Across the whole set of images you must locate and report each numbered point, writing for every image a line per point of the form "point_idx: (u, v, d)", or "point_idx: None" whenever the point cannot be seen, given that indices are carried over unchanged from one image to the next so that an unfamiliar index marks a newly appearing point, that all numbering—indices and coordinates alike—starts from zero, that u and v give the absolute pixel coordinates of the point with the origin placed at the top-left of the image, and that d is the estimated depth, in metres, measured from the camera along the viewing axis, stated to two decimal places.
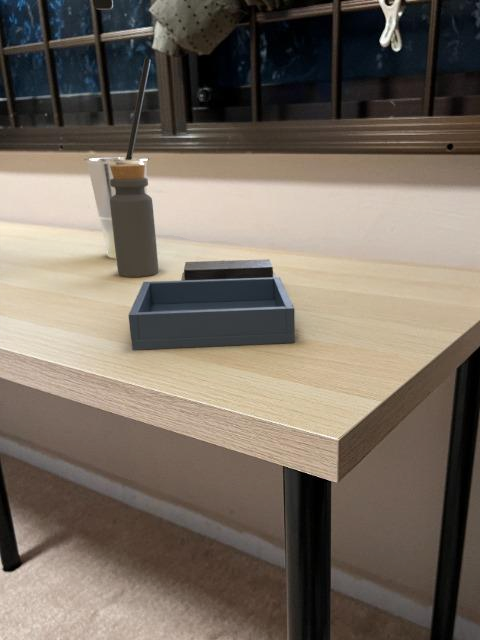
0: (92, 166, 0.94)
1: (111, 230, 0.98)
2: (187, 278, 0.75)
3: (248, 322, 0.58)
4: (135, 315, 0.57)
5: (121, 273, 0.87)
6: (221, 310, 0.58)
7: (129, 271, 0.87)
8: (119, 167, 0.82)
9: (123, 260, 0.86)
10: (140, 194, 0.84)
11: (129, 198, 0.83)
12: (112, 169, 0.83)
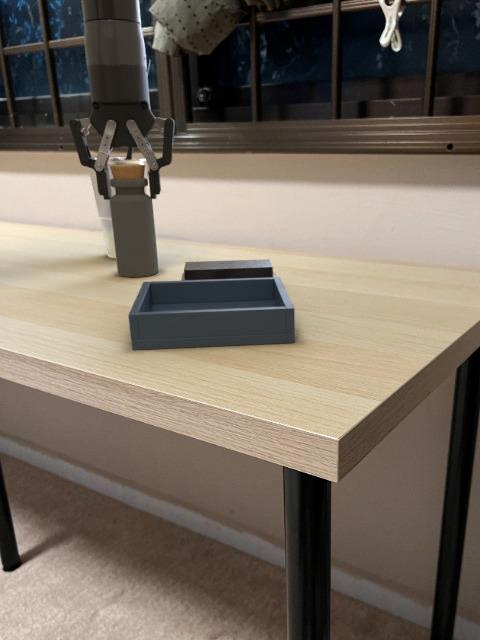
0: None
1: (111, 230, 0.98)
2: (187, 278, 0.75)
3: (248, 322, 0.58)
4: (135, 315, 0.57)
5: (121, 273, 0.87)
6: (221, 310, 0.58)
7: (129, 271, 0.87)
8: (119, 167, 0.82)
9: (123, 260, 0.86)
10: (140, 194, 0.84)
11: (129, 198, 0.83)
12: (112, 169, 0.83)
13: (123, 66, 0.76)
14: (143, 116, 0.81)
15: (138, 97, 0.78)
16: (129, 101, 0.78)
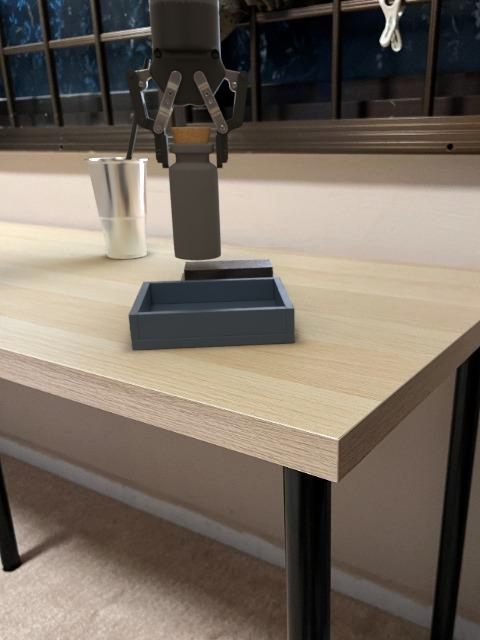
0: (92, 166, 0.94)
1: (111, 230, 0.98)
2: (187, 278, 0.75)
3: (248, 322, 0.58)
4: (135, 315, 0.57)
5: (179, 256, 0.75)
6: (221, 310, 0.58)
7: (190, 253, 0.74)
8: (183, 129, 0.69)
9: (182, 240, 0.73)
10: (206, 161, 0.72)
11: (193, 166, 0.70)
12: (173, 131, 0.70)
13: (194, 4, 0.63)
14: (213, 68, 0.68)
15: (210, 43, 0.66)
16: (199, 47, 0.65)
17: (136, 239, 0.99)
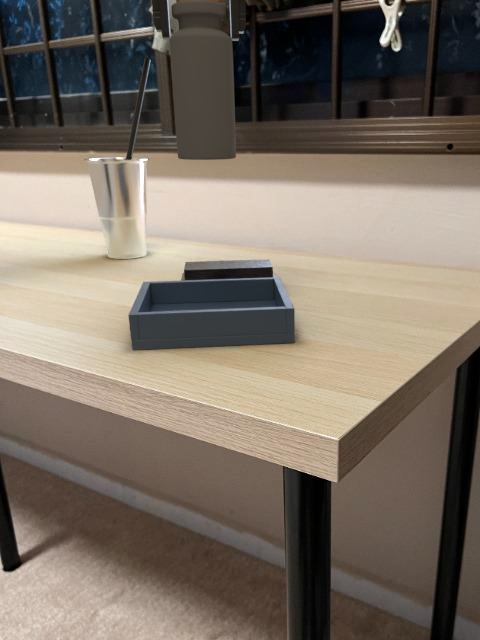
0: (92, 166, 0.94)
1: (111, 230, 0.98)
2: (187, 278, 0.75)
3: (248, 322, 0.58)
4: (135, 315, 0.57)
5: (184, 154, 0.59)
6: (221, 310, 0.58)
7: (197, 150, 0.58)
8: None
9: (188, 133, 0.58)
10: (217, 28, 0.56)
11: (202, 30, 0.55)
12: None
13: None
14: None
15: None
16: None
17: (136, 239, 0.99)
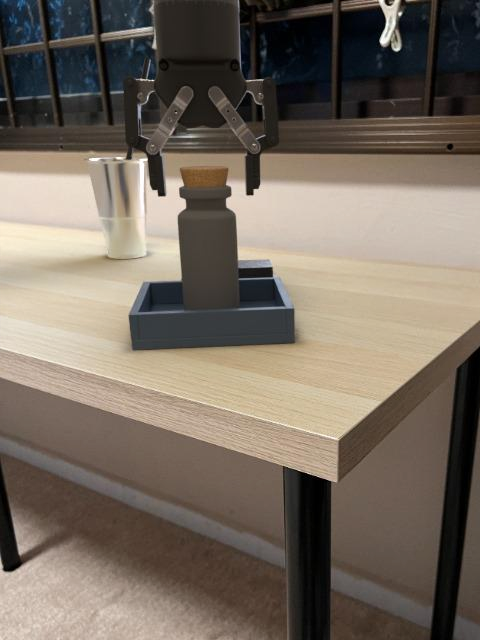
0: (92, 166, 0.94)
1: (111, 230, 0.98)
2: None
3: (248, 322, 0.58)
4: (135, 315, 0.57)
5: None
6: (221, 310, 0.58)
7: None
8: (195, 170, 0.57)
9: (195, 301, 0.61)
10: (222, 208, 0.59)
11: (208, 214, 0.58)
12: (183, 173, 0.58)
13: (210, 4, 0.51)
14: (231, 82, 0.55)
15: (228, 52, 0.53)
16: (216, 58, 0.53)
17: (136, 239, 0.99)
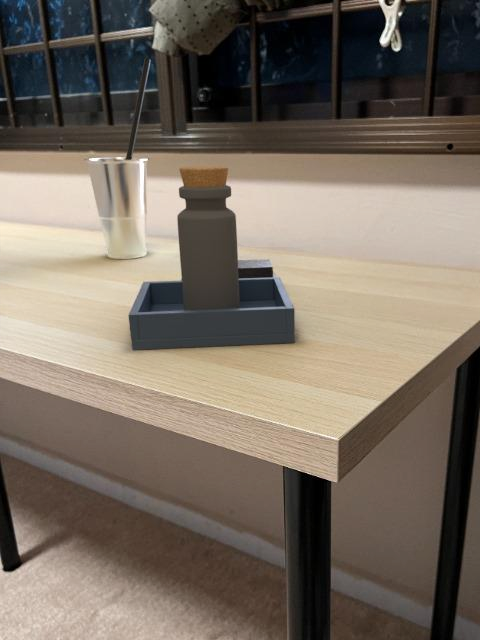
0: (92, 166, 0.94)
1: (111, 230, 0.98)
2: None
3: (248, 322, 0.58)
4: (135, 315, 0.57)
5: None
6: (221, 310, 0.58)
7: None
8: (195, 170, 0.57)
9: (195, 301, 0.61)
10: (222, 208, 0.59)
11: (207, 214, 0.58)
12: (183, 173, 0.58)
13: None
14: None
15: None
16: None
17: (136, 239, 0.99)
